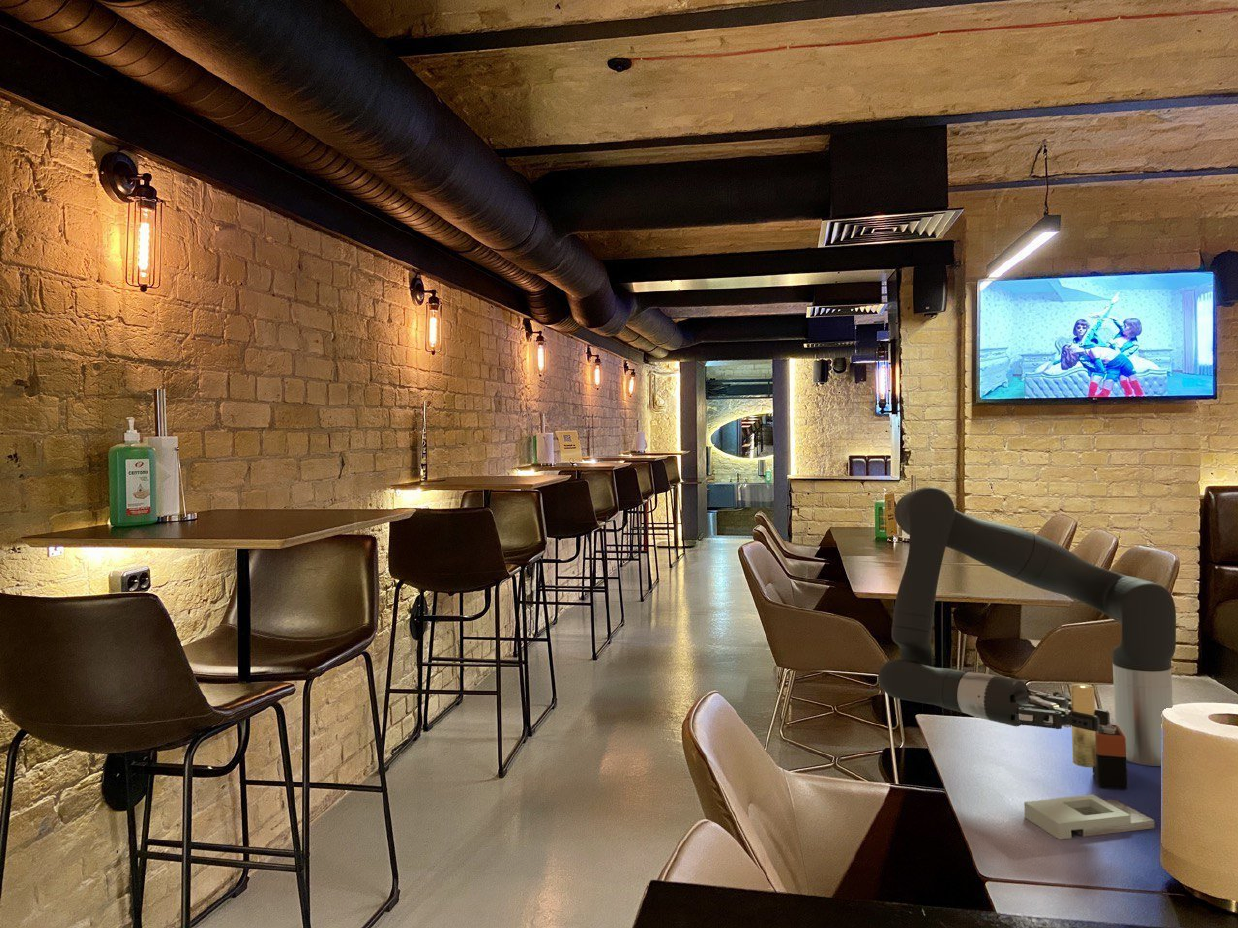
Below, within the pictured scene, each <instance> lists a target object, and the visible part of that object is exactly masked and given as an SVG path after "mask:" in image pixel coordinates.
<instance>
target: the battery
mask: <svg viewBox="0 0 1238 928" xmlns="http://www.w3.org/2000/svg"><path fill="white" fill-rule="evenodd" d="M1095 734H1096V766H1095V767H1092V774H1093V776H1094V779H1095V780H1096V782H1097V785H1098V786H1099V787H1100V788H1106V789H1115V790H1116V789H1119V790H1127V789H1128V765H1127V764H1128V763H1127V762H1128V761H1127V760H1126V738H1125V736H1124V735H1123V733H1122V732H1121V730H1120V728H1119V727H1118V726H1117V725H1115V724H1112V722H1111V721H1110V723H1109V724H1108V725H1107V726H1104V725H1100V729H1099V730H1098V731H1095Z"/></svg>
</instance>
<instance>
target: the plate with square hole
mask: <svg viewBox="0 0 1238 928" xmlns="http://www.w3.org/2000/svg"><path fill="white" fill-rule="evenodd" d="M1023 806H1024V818H1025V819H1027V820H1029V821H1030V822H1032V823H1033V824H1035V825H1036V826H1037V827H1039V828H1040V829H1042V830H1044V832H1047V833H1049V834H1050V835H1051V836H1053V837H1054V838H1056V839H1058V840H1068V839H1072V831H1074V830H1077V829H1085V828H1093V827H1102V826H1110V825H1119V824H1127V823H1131V817H1130V815H1129V814H1127V813H1126V812H1124V811H1122V810H1120V809H1118V808H1116V807H1115V806H1113V805H1111V804H1109V803H1107V802H1105V801H1104V800H1103V799H1102V798H1100V797H1098V796H1096V795H1094V794H1091V793H1090V794H1084V795H1083V794H1082V795H1074V796H1064V797H1058V798H1057V797H1056V798H1048V799H1047V798H1046V799H1039V800H1038V799H1036V800H1029V801H1028V800H1027V801H1024V803H1023ZM1082 807H1093V808H1094V809H1096V810H1098V811H1100V812H1101V813H1102V814H1093V815H1092V814H1087V815H1083V814H1081V813H1080V812H1078V811H1076V810H1075V809H1074V808H1082Z"/></svg>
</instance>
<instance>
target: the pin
mask: <svg viewBox="0 0 1238 928" xmlns="http://www.w3.org/2000/svg"><path fill="white" fill-rule="evenodd" d="M1070 696H1071V714H1072V712H1073V711H1075V712H1079V713H1085V714H1090V715H1094V716H1095V708H1096V706H1095V705H1096V704H1095V703H1096V702H1095V700H1096V699H1095V687H1094V686H1093V685H1090V684H1086V683H1072V684H1070ZM1071 741H1072V742H1071V744H1072V745H1071V746H1072V747H1071V751H1072V754H1071V755H1072V763H1073V764H1074V765H1075V766H1079V767H1083V768H1093V767H1095V766H1096V734H1095V731H1091V730H1086V729H1082V728H1077V727H1073V726H1072V725H1071Z"/></svg>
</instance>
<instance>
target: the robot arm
mask: <svg viewBox="0 0 1238 928" xmlns="http://www.w3.org/2000/svg"><path fill="white" fill-rule="evenodd" d="M894 506H895V507H894V511H893V513H894V520H895V521H896V524H897V525H898V527H899V528H900V529H901V530H902V531H903V532H904V533H905V534H907V535H909V544H908V545H909V546H908V554H907V555H908V556H907V559H906V564H905V568H904V572H903V574H902V577H901V581H900V583H899V587H898V589H897V594H896V597H895V602H894V609H893V616H892V617H893V618H892V624H891V625H892V626H891V639H892V641H893V642H894V643H895V644H896V645H898V647H899V653H900V658H895V659H891V660H888V661H886V662H885V663H884V664H882V666H880V669H879V671H878V673H877V674H878V675H877V678H878V679H877V680H878V684H879V686H880V687H881V689H882V690H883V691H884V693H886V694H887V695H888V696H890V697H892V698H894V699H898V700H902V701H910V702H915V703H920V704H921V703H922V704H928V705H933V706H937V707H940V708H943V709H947V710H950V711H954V712H959V713H963V714H967V715H969V716H972V717H975V718H978V719H981V720H986V721H990V722H995V723H999V724H1004V725H1006V726H1007V725H1008V726H1012V727H1020V726H1030V727H1036V728H1037V727H1039V728H1046V729H1047V728H1048V729H1054V730H1055V729H1056V730H1061V729H1063V727H1064V728H1066V729H1067V728H1072V726H1073V727H1077V728H1082V729H1086V730H1091V731H1098V730H1099V729H1100V725H1104V726H1107V725H1108V724H1109V723H1110V722H1111V718H1110V716H1111V715H1110V712H1109V711H1108V710H1106V709H1099V708H1096V707H1095V716H1094V715H1090V714H1085V713H1079V712H1075V711H1073V712H1072V714H1071V695H1068V694H1064V693H1062V692H1059V691H1054V692H1052V695H1049V694H1048V693H1044V692H1036V693H1035V694H1034V693H1031V691H1030V690H1029V687H1028V685H1027V684H1026V683H1025V682H1024V680H1019V679H1015V678H1009V677H1004V676H1001V675H1000V676H999V675H994V674H990V673H989V674H988V673H983V672H970V671H964V670H960V669H955V668H954V669H953V668H947V667H945V668H943V667H935V666H934V657H933V655H934V654H933V649H932V648H933V647H932V644H931V643H932V642H931V641H932V631H933V626H934V617H935V616H934V614H935V605H936V595H937V589H938V584H939V578H940V574H941V573H940V572H941V568H942V564H943V558H944V554H945V551H946V548H948V549H951V550H954V551H955V552H959V553H961V554H963V555H966V556H967V557H969V558H971V559H973V560H974V561H975V560H976V561H977V562H979V563H981V564H983V565H985V566H987V567H989V568H991V569H994V570H996V571H998V572H1000V573H1002V574H1005V575H1006V576H1009V577H1010V578H1013V579H1016V580H1019V581H1020V582H1022V583H1025V584H1028V585H1029V586H1033V587H1036V588H1039V589H1041V590H1044V591H1049V592H1051V593H1055V594H1059V595H1063V596H1067V597H1069V598H1071V599H1076V600H1077V601H1080V602H1082V603H1083V604H1085V605H1088V606H1090V607H1091V608H1093V609H1095V610H1097V611H1099V612H1100V613H1102V614H1104V615H1105V616H1108V617H1109V618H1111V619H1112V620H1114V621H1116V622H1118V623H1119V624H1121V641H1120V644H1119V645H1117V646H1115V647H1114V648H1113V650H1112V654H1111V655H1112V656H1111V657H1112V675H1113V677H1112V679H1113V698H1114V699H1113V701H1114V702H1113V703H1114V725H1117V726H1118V727H1119V728H1120V730H1121V732H1122V733H1123V735H1124V736H1125V738H1126V761H1127V762H1130V763H1134V764H1138V765H1143V766H1150V767H1151V766H1152V767H1153V766H1154V767H1162V766H1161V731H1160V730H1161V724H1162V717H1161V714H1162V711H1163V710H1164V709H1166V708H1172V707H1174V705H1173V704H1174V701H1173V700H1174V699H1173V697H1174V696H1173V677H1172V676H1173V675H1172V660H1173V657H1174V655H1175V653H1176V652H1175V651H1176V647H1177V646H1176V643H1177V611H1176V604H1175V603H1176V602H1175V600H1174V598H1173V594H1171V592H1170V591H1169V589H1167V588H1166V587H1165V586H1163V585H1161V584H1159V583H1157V582H1154V581H1150V580H1146V579H1144V578H1143V579H1142V578H1139V577H1135V576H1130V575H1125V574H1123V573H1118V572H1114V571H1111V570H1109V569H1106V568H1102V567H1099V566H1097V565H1094V564H1092V563H1090V562H1088V561H1086V560H1084V559H1082V558H1081V557H1079V556H1077V555H1076V554H1075V553H1073V552H1072V551H1070V550H1069V549H1067V548H1065V547H1064V546H1061V545H1060V544H1058V543H1056V542H1054V541H1052V540H1050V539H1047V538H1045V537H1043V536H1041V535H1038V534H1036V533H1033V532H1031V531H1029V530H1025V529H1023V528H1019V527H1016V526H1012V525H1008V524H1004V523H1000V522H995V521H990V520H986V519H980V518H976V517H973V516H970V515H968V514H965V513H963V512H961V511H959V510H957V509H955V504H954V502H953V499H952V498H951V496H950V495H949V494H948V493H947V492H946V491H944V490H943V489H941V488H939V487H936V486H935V487H934V486H925V487H921V488H917V489H916V490H913V491H911V492H908V493H906V494H904V495H903V496H902V497H901V498H899V500H898V501H897V502H896V505H894Z"/></svg>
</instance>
